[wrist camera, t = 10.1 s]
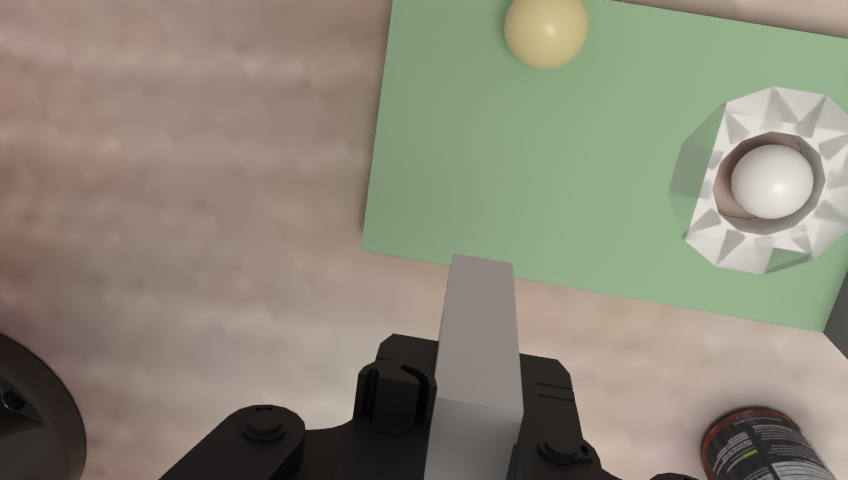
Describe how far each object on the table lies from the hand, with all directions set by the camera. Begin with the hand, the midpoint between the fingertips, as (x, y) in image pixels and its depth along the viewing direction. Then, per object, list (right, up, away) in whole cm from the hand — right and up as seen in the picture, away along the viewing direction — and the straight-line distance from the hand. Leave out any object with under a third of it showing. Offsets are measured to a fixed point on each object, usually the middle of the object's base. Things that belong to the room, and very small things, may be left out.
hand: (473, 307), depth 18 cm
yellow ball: (+4, +11, +13) cm, 17 cm away
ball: (+16, +5, +17) cm, 23 cm away
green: (+10, +6, +18) cm, 22 cm away
